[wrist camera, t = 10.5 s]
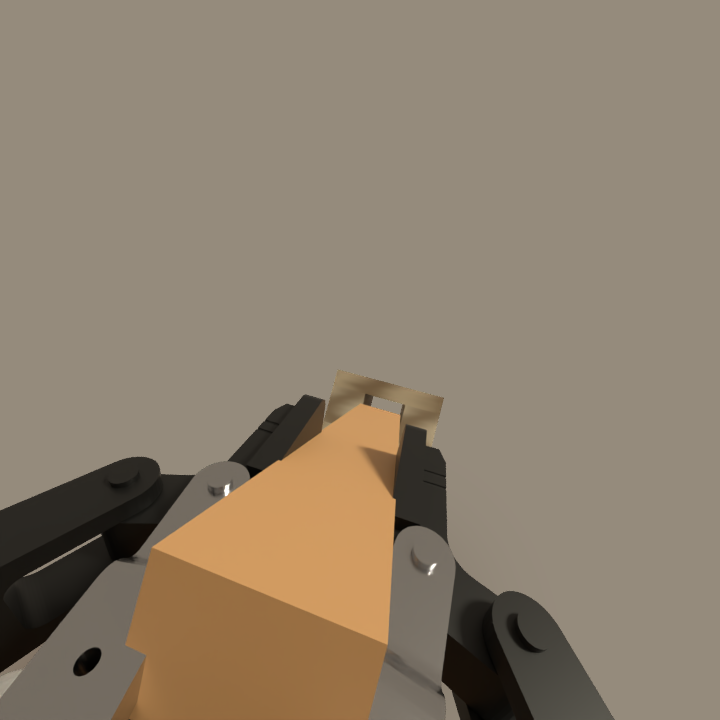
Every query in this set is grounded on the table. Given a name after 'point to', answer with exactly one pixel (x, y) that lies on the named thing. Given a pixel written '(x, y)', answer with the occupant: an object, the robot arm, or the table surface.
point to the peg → (277, 588)
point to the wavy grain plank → (361, 390)
